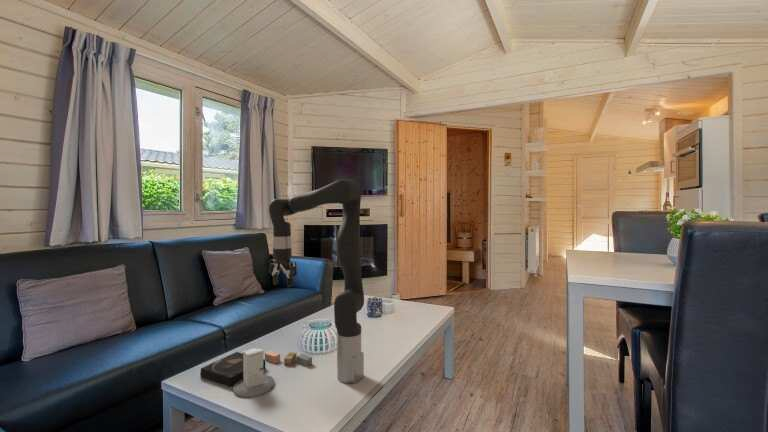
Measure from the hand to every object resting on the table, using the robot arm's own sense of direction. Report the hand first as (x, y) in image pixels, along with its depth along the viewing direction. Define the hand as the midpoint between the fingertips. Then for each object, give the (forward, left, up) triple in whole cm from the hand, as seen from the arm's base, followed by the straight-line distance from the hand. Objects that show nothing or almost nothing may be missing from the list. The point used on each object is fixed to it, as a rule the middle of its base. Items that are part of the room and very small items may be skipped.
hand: (282, 285), depth 146 cm
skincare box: (-7, +20, -31) cm, 38 cm away
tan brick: (-3, -1, -32) cm, 32 cm away
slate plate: (-7, +20, -32) cm, 38 cm away
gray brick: (-9, -3, -32) cm, 34 cm away
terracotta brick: (+5, +2, -32) cm, 33 cm away
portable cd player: (+9, +18, -33) cm, 38 cm away
